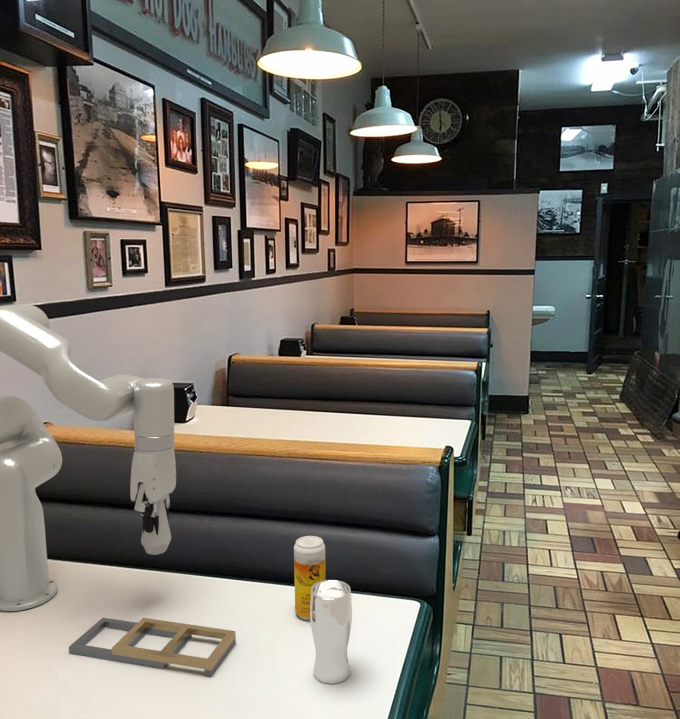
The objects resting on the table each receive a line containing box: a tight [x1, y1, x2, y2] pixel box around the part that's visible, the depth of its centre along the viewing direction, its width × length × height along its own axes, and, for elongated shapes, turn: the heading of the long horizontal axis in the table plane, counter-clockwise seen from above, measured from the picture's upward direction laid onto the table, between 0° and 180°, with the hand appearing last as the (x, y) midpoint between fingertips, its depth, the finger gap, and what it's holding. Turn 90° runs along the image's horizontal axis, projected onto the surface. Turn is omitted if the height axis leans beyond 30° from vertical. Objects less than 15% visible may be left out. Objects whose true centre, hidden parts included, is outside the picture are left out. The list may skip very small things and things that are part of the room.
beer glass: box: [309, 579, 353, 685], centre depth 107 cm, size 7×7×15 cm
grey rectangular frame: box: [68, 617, 193, 670], centre depth 117 cm, size 19×10×1 cm, turn 75°
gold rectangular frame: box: [111, 617, 237, 678], centre depth 114 cm, size 19×10×2 cm, turn 75°
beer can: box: [293, 535, 327, 621], centre depth 126 cm, size 6×6×15 cm
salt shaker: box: [140, 494, 172, 556], centre depth 128 cm, size 6×6×13 cm
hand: (156, 530), depth 128 cm, fingers closed on salt shaker, 3 cm apart
